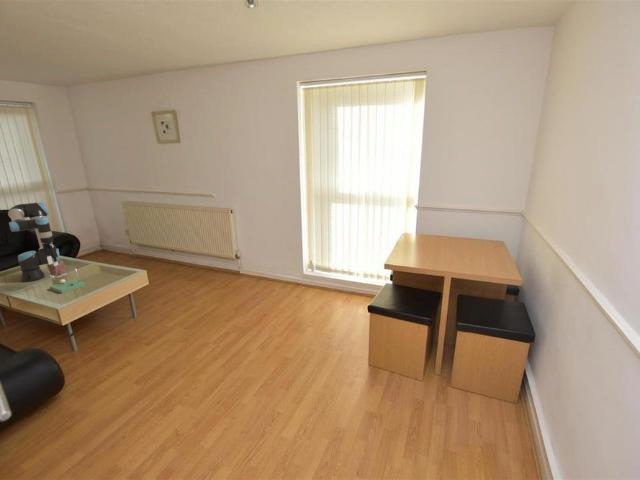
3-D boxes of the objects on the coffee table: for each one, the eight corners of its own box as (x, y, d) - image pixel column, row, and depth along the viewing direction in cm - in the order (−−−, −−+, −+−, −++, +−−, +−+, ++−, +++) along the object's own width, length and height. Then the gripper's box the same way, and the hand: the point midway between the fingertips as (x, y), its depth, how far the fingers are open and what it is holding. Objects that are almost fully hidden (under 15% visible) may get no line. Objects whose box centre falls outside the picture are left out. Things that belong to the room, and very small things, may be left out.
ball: (59, 283, 248) (58, 279, 247) (64, 282, 251) (63, 278, 250) (61, 284, 246) (60, 280, 245) (66, 282, 249) (65, 278, 248)
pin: (78, 282, 250) (74, 266, 246) (79, 282, 250) (75, 265, 246) (80, 283, 248) (76, 266, 244) (81, 282, 249) (77, 266, 245)
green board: (50, 289, 244) (49, 286, 243) (73, 282, 257) (72, 279, 257) (62, 293, 236) (61, 290, 235) (85, 285, 249) (84, 282, 249)
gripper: (33, 236, 243) (41, 264, 250) (47, 239, 235) (54, 268, 241) (45, 234, 250) (52, 261, 256) (58, 237, 241) (65, 265, 247)
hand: (53, 264), depth 248 cm, fingers open, 8 cm apart
